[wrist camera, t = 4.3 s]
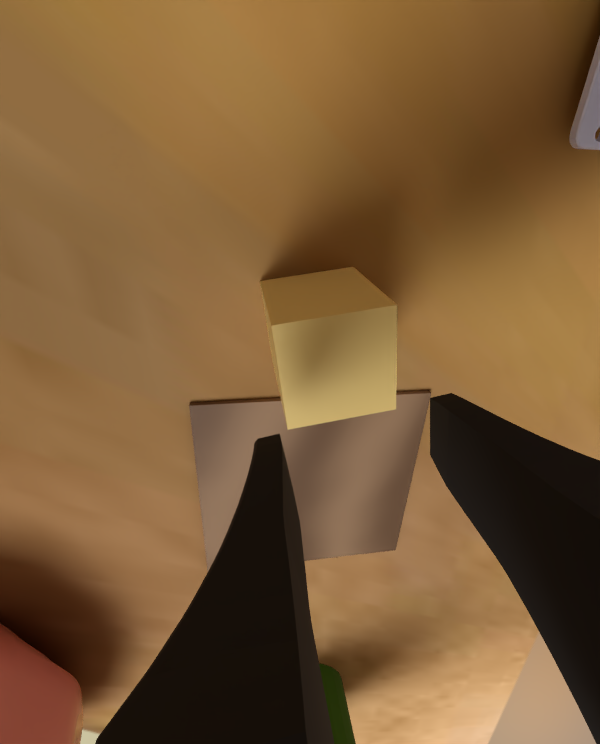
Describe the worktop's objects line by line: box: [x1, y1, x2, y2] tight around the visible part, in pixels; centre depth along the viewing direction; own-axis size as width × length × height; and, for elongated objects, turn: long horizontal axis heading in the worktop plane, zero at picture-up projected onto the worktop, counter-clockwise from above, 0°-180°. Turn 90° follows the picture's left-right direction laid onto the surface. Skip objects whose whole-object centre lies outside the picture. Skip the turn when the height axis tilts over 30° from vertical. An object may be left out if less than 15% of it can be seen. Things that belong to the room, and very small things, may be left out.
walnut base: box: [189, 390, 431, 571], centre depth 23 cm, size 12×12×1 cm
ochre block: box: [260, 267, 397, 430], centre depth 16 cm, size 4×4×6 cm
